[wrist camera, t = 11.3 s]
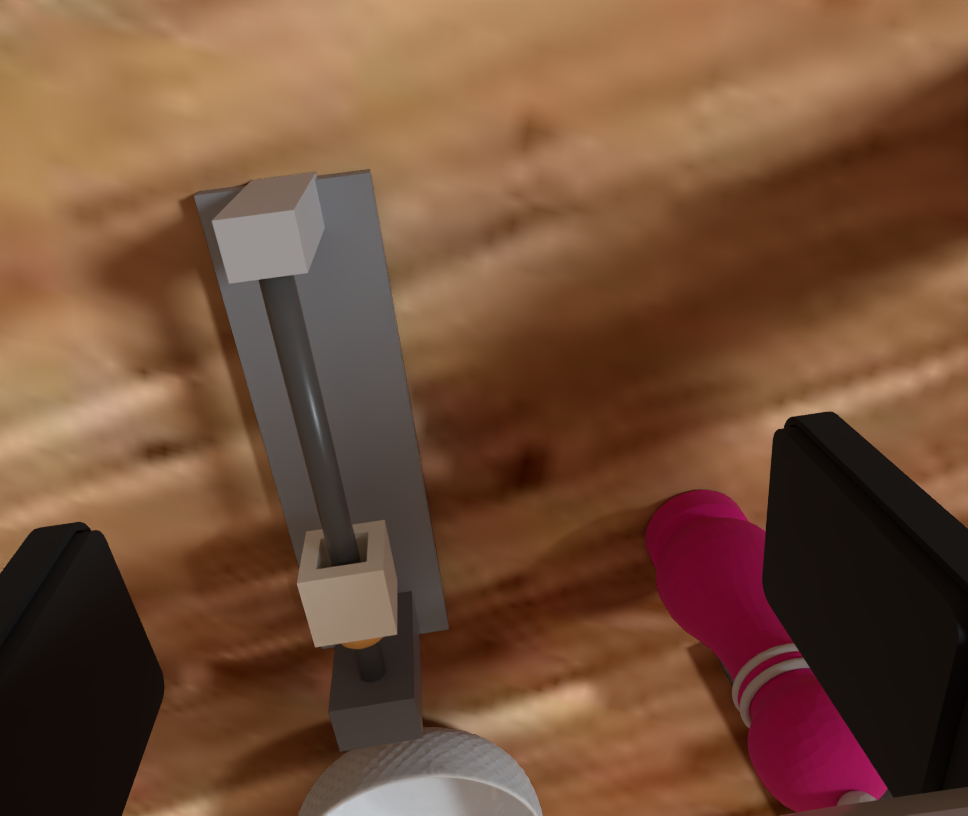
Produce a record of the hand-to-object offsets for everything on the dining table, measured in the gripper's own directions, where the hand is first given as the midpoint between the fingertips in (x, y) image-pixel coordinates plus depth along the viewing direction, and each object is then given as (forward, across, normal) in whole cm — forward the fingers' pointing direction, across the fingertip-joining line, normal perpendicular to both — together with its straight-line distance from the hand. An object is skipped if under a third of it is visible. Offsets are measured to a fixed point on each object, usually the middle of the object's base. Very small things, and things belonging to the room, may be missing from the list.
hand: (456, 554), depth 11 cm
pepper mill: (+28, -14, +23) cm, 39 cm away
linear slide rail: (+28, +6, +13) cm, 32 cm away
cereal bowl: (+29, +6, +41) cm, 50 cm away
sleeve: (+23, +6, +17) cm, 30 cm away
